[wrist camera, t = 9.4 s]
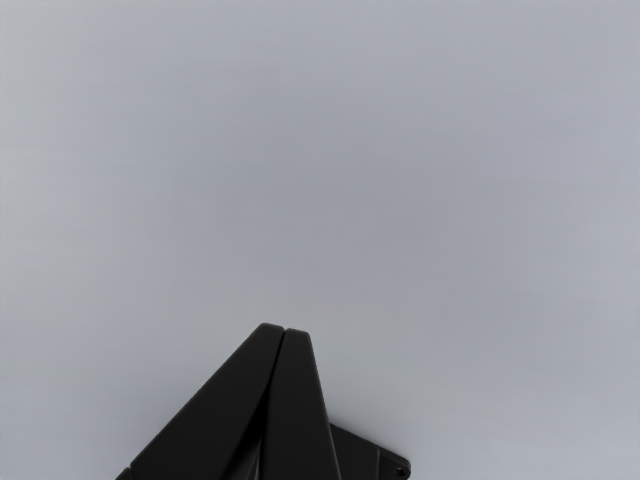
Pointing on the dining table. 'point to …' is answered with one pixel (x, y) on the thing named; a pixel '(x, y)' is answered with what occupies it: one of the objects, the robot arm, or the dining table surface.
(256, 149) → the dining table surface
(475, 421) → the dining table surface
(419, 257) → the dining table surface
